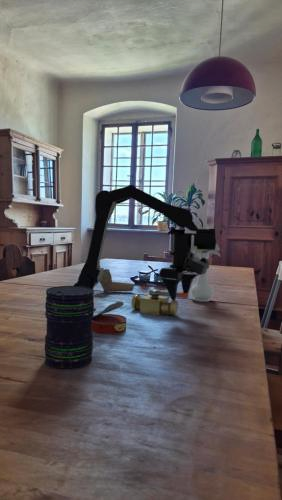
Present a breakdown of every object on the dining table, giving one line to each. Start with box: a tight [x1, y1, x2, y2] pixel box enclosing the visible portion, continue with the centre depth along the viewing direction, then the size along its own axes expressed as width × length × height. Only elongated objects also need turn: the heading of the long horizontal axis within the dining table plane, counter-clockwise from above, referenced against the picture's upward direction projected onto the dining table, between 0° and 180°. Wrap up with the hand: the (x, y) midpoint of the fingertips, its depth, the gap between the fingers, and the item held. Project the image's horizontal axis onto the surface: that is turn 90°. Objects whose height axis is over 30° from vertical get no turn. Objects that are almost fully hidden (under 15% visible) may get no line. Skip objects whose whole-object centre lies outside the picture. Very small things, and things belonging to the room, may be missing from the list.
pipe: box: [99, 268, 135, 293], centre depth 145 cm, size 6×17×10 cm, turn 99°
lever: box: [148, 288, 190, 299], centre depth 112 cm, size 13×4×2 cm, turn 76°
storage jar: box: [44, 285, 95, 371], centre depth 71 cm, size 10×10×15 cm
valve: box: [130, 294, 179, 317], centre depth 114 cm, size 7×15×6 cm, turn 61°
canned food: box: [92, 301, 127, 335], centre depth 94 cm, size 11×10×10 cm
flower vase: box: [189, 239, 221, 303], centre depth 135 cm, size 13×18×25 cm
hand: (179, 297), depth 109 cm, fingers open, 9 cm apart
